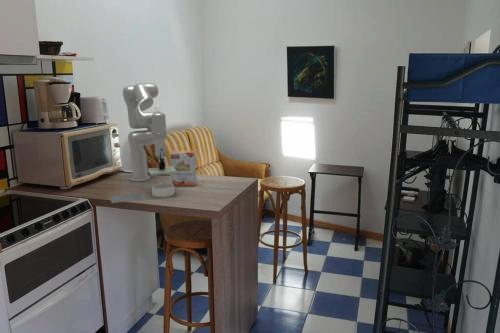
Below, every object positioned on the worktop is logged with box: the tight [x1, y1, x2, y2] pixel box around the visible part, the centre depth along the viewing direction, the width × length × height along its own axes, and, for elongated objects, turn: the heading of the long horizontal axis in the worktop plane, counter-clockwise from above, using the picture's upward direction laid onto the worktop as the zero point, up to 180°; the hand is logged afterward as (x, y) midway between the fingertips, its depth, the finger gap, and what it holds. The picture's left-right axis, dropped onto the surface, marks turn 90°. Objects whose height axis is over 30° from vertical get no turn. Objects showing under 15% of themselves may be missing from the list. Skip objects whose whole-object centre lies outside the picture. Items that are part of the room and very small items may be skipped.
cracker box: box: [170, 150, 197, 187], centre depth 251 cm, size 14×6×21 cm, turn 84°
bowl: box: [151, 182, 175, 198], centre depth 233 cm, size 12×12×5 cm
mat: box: [110, 192, 143, 204], centre depth 227 cm, size 14×16×1 cm
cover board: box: [147, 158, 177, 176], centre depth 230 cm, size 14×14×7 cm
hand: (161, 168), depth 230 cm, fingers closed on cover board, 3 cm apart
